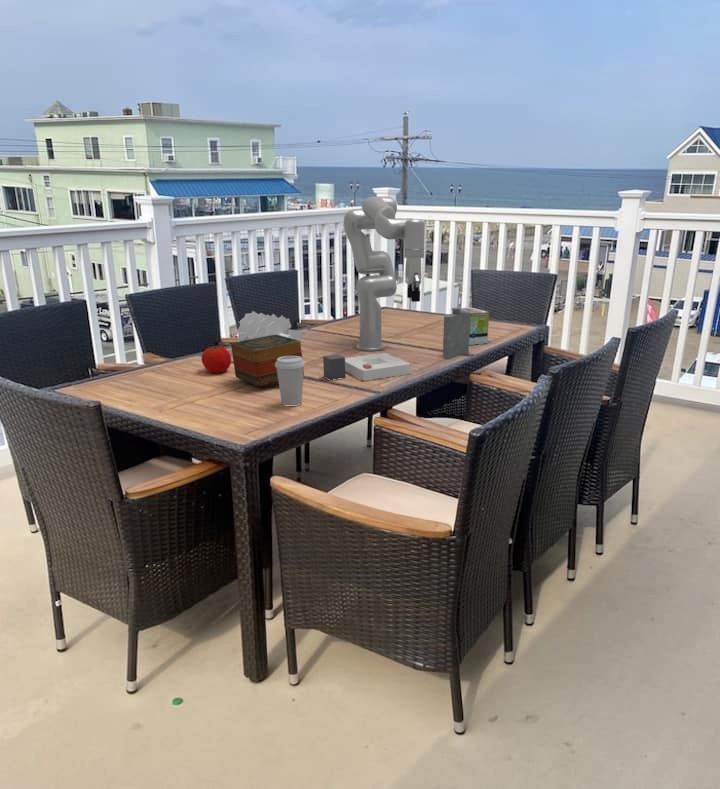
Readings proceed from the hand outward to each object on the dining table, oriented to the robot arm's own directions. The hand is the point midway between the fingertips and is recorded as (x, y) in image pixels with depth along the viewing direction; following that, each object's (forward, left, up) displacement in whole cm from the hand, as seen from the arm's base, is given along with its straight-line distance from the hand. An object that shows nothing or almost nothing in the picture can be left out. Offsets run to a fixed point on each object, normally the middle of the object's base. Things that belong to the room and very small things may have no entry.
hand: (413, 299), depth 232 cm
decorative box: (-7, -57, -26) cm, 63 cm away
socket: (0, -17, -26) cm, 31 cm away
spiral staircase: (-46, -43, -26) cm, 68 cm away
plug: (0, -34, -26) cm, 43 cm away
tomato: (-30, -70, -26) cm, 81 cm away
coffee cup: (+21, -59, -26) cm, 68 cm away
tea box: (-24, +46, -26) cm, 58 cm away
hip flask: (-6, +25, -26) cm, 36 cm away
